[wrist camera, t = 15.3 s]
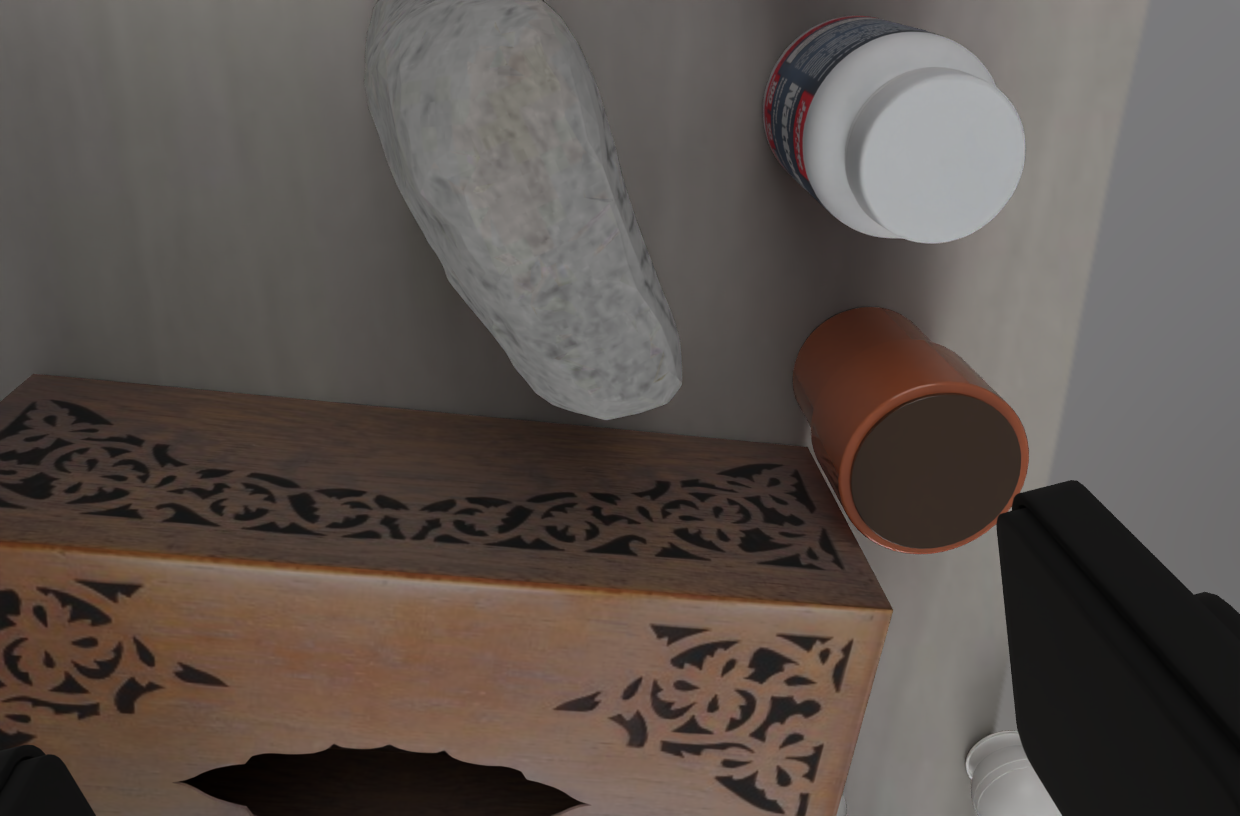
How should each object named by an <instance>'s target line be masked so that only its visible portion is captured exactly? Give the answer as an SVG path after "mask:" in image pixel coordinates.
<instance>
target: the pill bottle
mask: <svg viewBox="0 0 1240 816" xmlns="http://www.w3.org/2000/svg"><path fill="white" fill-rule="evenodd" d="M763 124H764V130H765V134H766V137H767V141H768V143H769V146H770V148H771V150H772V152H773V154H774V155H775V157H776V159H777V160H778V162H779V163H780V164H781V165H782V167H783V168H784V169H785V170H786V171H787V172H788V173H789V174H790V175H791V176H792V177H793V178H794V179H795V180H796V181H797V182H798V183H799V184H800V185H801V186H802V187H803V188H804V189H806V190H807V191H808V192H809V193H810V194H811V195H812V196H813V197H814V198H815V199H816V200H817V201H818V202H819V203H820V204H821V205H822V206H823V207H824V208H825V209H826V210H827V211H828V212H829V213H831V214H832V215H833V216H834V217H836V218H837V219H838V220H840V221H841V222H842V223H844V224H845V225H847V226H849V227H850V228H852V229H854V230H857V231H859V232H861V233H864V234H867V235H871V236H875V237H882V238H904V239H906V240H910V241H913V242H919V243H928V244H933V243H945V242H949V241H953V240H957V239H960V238H963V237H965V236H968V235H970V234H972V233H973V232H975V231H977V230H978V229H980V228H982V227H983V226H985V225H986V224H987V223H989V222H990V221H991V220H992V219H993V218H994V217H995V216H996V215H997V214H998V213H999V212H1000V211H1001V210H1002V209H1003V207H1004V206H1005V205H1006V203H1007V202H1008V201H1009V199H1010V198H1011V196H1012V195H1013V193H1014V191H1015V188H1016V187H1017V185H1018V182H1019V180H1020V177H1021V174H1022V171H1023V167H1024V162H1025V153H1026V144H1025V136H1024V129H1023V125H1022V122H1021V120H1020V117H1019V115H1018V113H1017V111H1016V109H1015V107H1014V106H1013V104H1012V103H1011V102H1010V100H1009V99H1008V98H1007V97H1006V96H1005V95H1004V94H1003V93H1002V92H1001V91H1000V90H999V89H998V88H997V86H996V84H995V82H994V80H993V78H992V76H991V75H990V73H989V71H988V70H987V68H986V67H985V66H984V64H983V63H982V62H981V61H980V60H979V59H978V58H977V57H976V56H975V55H974V54H973V53H972V52H970V51H969V50H968V49H966V48H965V47H964V46H962V45H960V44H959V43H957V42H955V41H953V40H951V39H949V38H946V37H944V36H941V35H938V34H935V33H931V32H928V31H926V30H922V29H918V28H914V27H910V26H906V25H902V24H899V23H895V22H891V21H887V20H883V19H880V18H875V17H869V16H843V17H838V18H834V19H830V20H827V21H824V22H822V23H820V24H818V25H816V26H814V27H812V28H810V29H809V30H807V31H805V32H804V33H803V34H801V35H800V36H799V37H798V38H796V39H795V40H794V41H793V42H792V43H791V44H790V45H789V46H788V47H787V49H786V50H785V51H784V52H783V54H782V55H781V56H780V58H779V59H778V61H777V62H776V64H775V66H774V68H773V70H772V72H771V74H770V76H769V79H768V82H767V85H766V89H765V93H764V99H763Z"/></svg>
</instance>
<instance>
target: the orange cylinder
mask: <svg viewBox="0 0 1240 816" xmlns="http://www.w3.org/2000/svg"><path fill="white" fill-rule="evenodd" d="M793 390H794V394H795V398H796V401H797V403H798V405H799V407H800V409H801V411H802V413H803V414H804V416H805V418H806V420H807V422H808V423H809V425H810V427H811V439H812V445H813V449H814V452H815V455H816V457H817V460H818V462H819V463H820V465H821V467H822V469H823V471H824V473H825V475H826V477H827V478H828V480H829V482H830V484H831V486H832V488H833V490H834V492H835V493H836V495H837V497H838V499H839V501H840V503H841V505H842V507H843V508H844V510H845V512H846V514H847V516H848V517H849V519H850V521H851V522H852V523H853V525H854V526H855V527H856V528H857V529H858V530H859V531H860V532H861V533H862V534H863V535H864V536H865V537H867V538H868V539H870V540H871V541H873V542H874V543H876V544H878V545H880V546H882V547H885V548H888V549H891V550H894V551H897V552H902V553H908V554H932V553H938V552H944V551H947V550H951V549H955V548H957V547H960V546H962V545H965V544H967V543H969V542H971V541H973V540H975V539H977V538H978V537H980V536H981V535H983V534H984V533H986V532H987V531H988V530H990V529H991V528H992V527H993V526H994V525H996V524H997V518H998V516H999V515H1000V514H1002V513H1006V512H1008V511H1009V509H1010V508H1011V507H1012V503H1013V498H1014V497H1015V496H1016V495H1017V494H1019V493H1020V491H1021V489H1022V487H1023V484H1024V481H1025V478H1026V474H1027V469H1028V463H1029V448H1028V441H1027V436H1026V433H1025V430H1024V427H1023V425H1022V423H1021V421H1020V419H1019V417H1018V416H1017V414H1016V413H1015V411H1014V410H1013V409H1012V408H1011V407H1010V406H1009V405H1008V404H1007V403H1006V402H1005V401H1004V400H1003V399H1002V398H1001V397H1000V396H999V395H998V394H997V393H996V392H995V391H994V390H993V389H992V388H991V387H990V386H989V385H988V384H987V383H986V382H985V381H984V380H983V379H982V378H981V377H980V376H979V375H978V374H977V373H976V372H975V371H974V370H973V369H972V368H971V367H970V366H969V365H968V364H967V363H966V362H965V361H964V360H963V359H962V358H961V357H960V356H958V355H957V354H956V353H954V352H953V351H951V350H949V349H948V348H946V347H944V346H941V345H939V344H936V343H933V342H931V341H930V340H929V339H928V338H927V337H926V336H925V335H924V333H923V332H922V331H921V330H920V329H919V328H918V327H917V326H916V325H915V324H914V323H913V322H912V321H910V320H909V319H908V318H906V317H905V316H903V315H901V314H899V313H897V312H895V311H892V310H889V309H884V308H878V307H861V308H855V309H851V310H848V311H844V312H842V313H839V314H837V315H835V316H833V317H831V318H830V319H828V320H826V321H825V322H824V323H822V324H821V325H820V326H819V327H817V328H816V329H815V330H814V331H813V332H812V333H811V335H810V336H809V337H808V338H807V339H806V341H805V342H804V344H803V346H802V347H801V349H800V351H799V353H798V355H797V358H796V361H795V365H794V370H793Z"/></svg>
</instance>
